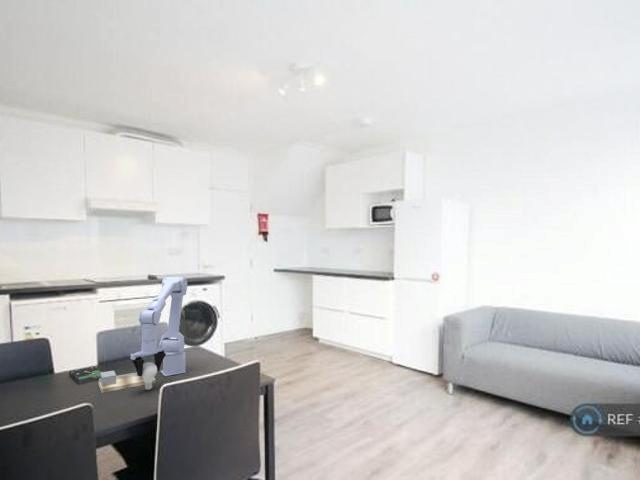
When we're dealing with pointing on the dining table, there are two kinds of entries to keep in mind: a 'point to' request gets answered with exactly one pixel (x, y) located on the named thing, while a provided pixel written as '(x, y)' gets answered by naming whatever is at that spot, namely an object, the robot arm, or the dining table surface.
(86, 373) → the disk drive
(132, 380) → the rail board
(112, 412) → the dining table surface
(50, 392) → the dining table surface
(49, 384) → the dining table surface
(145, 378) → the lightbulb
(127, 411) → the dining table surface
